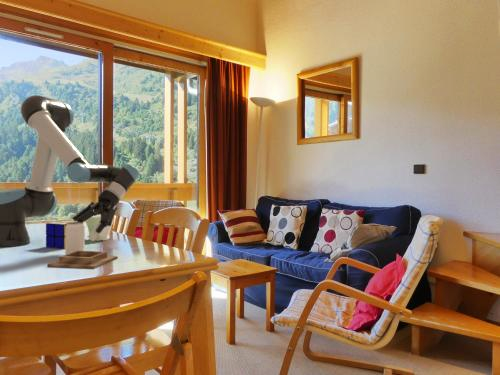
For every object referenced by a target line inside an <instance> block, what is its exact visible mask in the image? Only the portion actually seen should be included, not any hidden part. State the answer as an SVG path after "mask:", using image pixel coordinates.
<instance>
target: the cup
mask: <svg viewBox="0 0 500 375" xmlns="http://www.w3.org/2000/svg"><path fill="white" fill-rule="evenodd" d="M114 217H115V216H114ZM114 217H113V219H114ZM99 221H101V215H100V214H99V215H96V216H92V217H91V218H89V219H87V220H86V221H85V223H86V227H87V229H88V235H89V234H90V233H91V231H92V230H93V229H94V228H95V226H96V225H97V224H98V223H100V222H99ZM108 221H109V220H108ZM100 224H101V223H100ZM113 224H114V220H113V221H112V224H111V226H106V227H104V229H103V230H102V231H101V232H100V233H99V235H98V236H97V237H96V239H95V240H94V241H93V242H95V241H98V242H99V241H101V240H102V241H108V240H110V236H111V235H110V234H111V232H112V230H111V229H112V226H113ZM102 241H101V242H102Z"/></svg>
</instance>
